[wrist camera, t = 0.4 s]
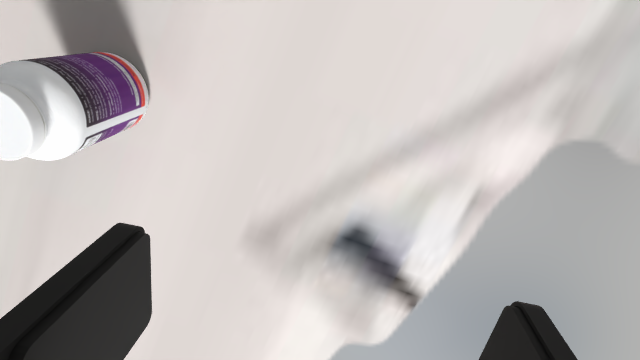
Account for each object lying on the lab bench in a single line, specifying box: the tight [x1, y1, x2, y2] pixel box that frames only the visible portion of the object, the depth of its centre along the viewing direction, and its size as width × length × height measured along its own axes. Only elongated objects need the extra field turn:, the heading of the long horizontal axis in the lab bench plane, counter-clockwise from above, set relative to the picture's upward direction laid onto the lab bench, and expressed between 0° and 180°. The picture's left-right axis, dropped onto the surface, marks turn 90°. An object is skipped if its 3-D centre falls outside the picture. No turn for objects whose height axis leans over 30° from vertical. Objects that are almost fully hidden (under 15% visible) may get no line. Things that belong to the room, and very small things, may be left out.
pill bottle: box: [0, 52, 149, 160], centre depth 32 cm, size 8×8×14 cm
